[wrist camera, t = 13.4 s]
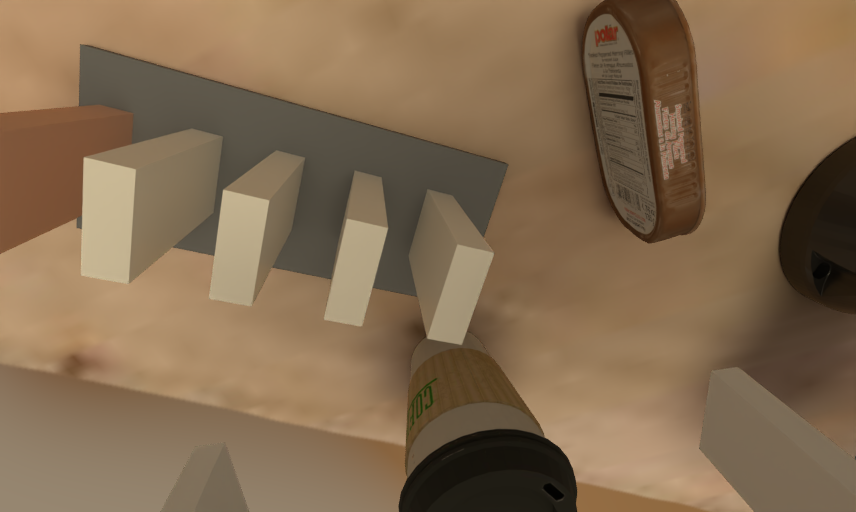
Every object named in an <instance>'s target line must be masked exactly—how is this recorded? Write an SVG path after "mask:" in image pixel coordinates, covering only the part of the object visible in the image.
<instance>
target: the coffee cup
mask: <svg viewBox="0 0 856 512" xmlns="http://www.w3.org/2000/svg"><path fill="white" fill-rule="evenodd" d="M405 467H406V475H407V481H406V483H405V485H404V487H403V490H402V492H401V495H400V501H399V512H577V508H576V498H577V487H576V480H575V476H574V472H573V468H572V466H571V464H570V462H569V460H568V457H567V456H566V455H565V454H564V453H563V451H562V450H561V449H560V448H559V447H558V446H557V445H555V444H554V443H552V442H551V441H550V440H548V439H546V438H545V437H544V433H543V431H542V429H541V426H540V424H539V423H538V421H537V420H536V419H535V417H534V416H533V414H532V413H531V411H530V410H529V408H528V407H527V406H526V404H525V403H524V401H523V400H522V398H521V397H520V395H519V394H518V393H517V391H516V390H515V388H514V387H513V385H512V384H511V383H510V381H509V380H508V378H507V377H506V375H505V374H504V372H503V371H502V370H501V368H500V367H499V365H498V364H497V363H496V362H495V360H494V359H492V358H491V357H490V355H489V354H488V352H487V351H486V349H485V348H484V346H483V345H482V344H481V342H480V341H479V340H478V339H477V337H475V336H474V335H473V334H471V333H469V332H466V334H465V337H464V340H463V343H462V345H459V344H454V343H448V342H443V341H437V340H432V339H427V337H425V338H424V339H423V340H422V341H421V342H420V343H419V344H418V345H417V347H416V348H415V350H414V352H413V355H412V359H411V377H410V384H409V390H408V408H407V430H406V453H405Z"/></svg>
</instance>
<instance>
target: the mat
mask: <svg viewBox="0 0 856 512" xmlns="http://www.w3.org/2000/svg"><path fill="white" fill-rule="evenodd" d="M89 105H103V106H107V107H111V108H115V109H119V110H122V111H126V112H130V113H133V130H132V144H135V143H139V142H143V141H146V140H150V139H154V138H158V137H162V136H165V135H169V134H173V133H177V132H180V131H184V130H188V129H196V130H200V131H204V132H207V133H211V134H215V135H219V136H223V141H222V149H221V156H220V164H219V172H218V180H217V188H216V196H215V204H214V212H213V213H212V214H211V215H210V216H209V217H208V218H207V219H205V220H204V221H203V222H202V223H201V224H199V225H198V226H197V227H196V228H195V229H193V230H192V231H191V232H190V233H189V234H188V235H186V236H185V237H184V238H183V239H182V240H180V241H179V242H178V243H177V244H176V245H174V246H173V247H174V248H179V249H184V250H189V251H194V252H199V253H204V254H209V255H213V256H215V248H216V241H217V233H218V225H219V218H220V210H221V202H222V195H223V189H225V188H226V187H227V186H229V185H230V184H232V183H233V182H234V181H236V180H237V179H238V178H240V177H241V176H242V175H244V174H245V173H246V172H248V171H249V170H250V169H252V168H253V167H254V166H256V165H257V164H258V163H260V162H261V161H263V160H264V159H265V158H267V157H268V156H269V155H271V154H272V153H273V152H275V151H276V150H277V151H281V152H285V153H289V154H293V155H297V156H301V157H305V162H304V167H303V172H302V178H301V183H300V188H299V193H298V199H297V204H296V209H295V215H294V220H293V225H292V230H291V232H290V234H289V236H288V238H287V240H286V242H285V244H284V245H283V247H282V249H281V251H280V253H279V255H278V257H277V259H276V261H275V263H274V265H273V268H278V269H283V270H288V271H293V272H297V273H302V274H307V275H312V276H317V277H322V278H327V279H331V278H332V273H333V268H334V263H335V257H336V252H337V247H338V242H339V237H340V233H341V228H342V224H343V220H344V215H345V211H346V207H347V202H348V198H349V193H350V189H351V185H352V180H353V176H354V171H359V172H363V173H367V174H371V175H374V176H378V177H382V185H383V192H384V200H385V208H386V216H387V223H388V231H387V234H386V238H385V242H384V246H383V249H382V253H381V257H380V261H379V265H378V268H377V272H376V276H375V280H374V283H373V287H372V288H376V289H381V290H386V291H391V292H396V293H401V294H406V295H411V296H416V297H418V296H417V292H416V287H415V283H414V279H413V274H412V270H411V265H410V261H409V252H410V249H411V245H412V242H413V238H414V235H415V231H416V228H417V224H418V221H419V217H420V214H421V210H422V207H423V203H424V200H425V196H426V193H427V189H429V190H433V191H437V192H440V193H444V194H448V195H452V196H453V197H454V198H455V200H456V201H457V202H458V204H459V205H460V207H461V208H462V209H463V211H464V212H465V213H466V215H467V216H468V217H469V219H470V220H471V222H472V223H473V224H474V226H475V227H476V228H477V230H478V231H479V233H480V234H481V235H482V237H484V234H485V231H486V229H487V226H488V223H489V220H490V217H491V214H492V211H493V208H494V205H495V202H496V199H497V196H498V193H499V191H500V188H501V185H502V182H503V179H504V176H505V173H506V170H507V167H508V164H506V163H504V162H500V161H497V160H493V159H490V158H486V157H483V156H479V155H476V154H472V153H468V152H465V151H461V150H458V149H454V148H451V147H447V146H444V145H440V144H437V143H433V142H429V141H426V140H422V139H419V138H415V137H412V136H408V135H405V134H401V133H398V132H394V131H390V130H387V129H383V128H380V127H376V126H373V125H369V124H366V123H362V122H358V121H355V120H351V119H348V118H344V117H341V116H337V115H334V114H330V113H327V112H323V111H319V110H316V109H312V108H309V107H305V106H302V105H298V104H295V103H291V102H288V101H284V100H280V99H277V98H273V97H270V96H266V95H263V94H259V93H256V92H252V91H248V90H245V89H241V88H238V87H234V86H231V85H227V84H224V83H220V82H217V81H213V80H209V79H206V78H202V77H199V76H195V75H192V74H188V73H185V72H181V71H177V70H174V69H170V68H167V67H163V66H160V65H156V64H153V63H149V62H146V61H142V60H138V59H135V58H131V57H128V56H124V55H121V54H117V53H114V52H110V51H107V50H103V49H99V48H96V47H92V46H89V45H81V44H80V83H79V106H89ZM77 228H80V229H82V216H80V217H78V218H77Z"/></svg>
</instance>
